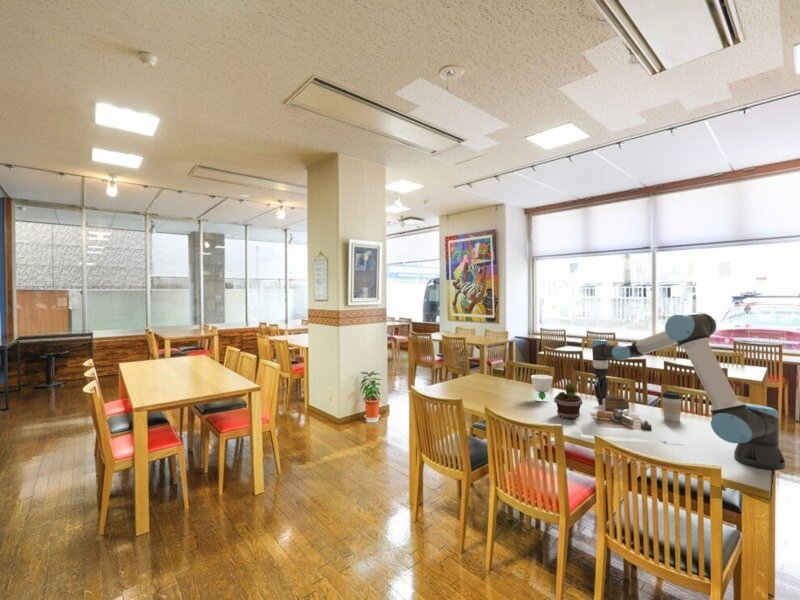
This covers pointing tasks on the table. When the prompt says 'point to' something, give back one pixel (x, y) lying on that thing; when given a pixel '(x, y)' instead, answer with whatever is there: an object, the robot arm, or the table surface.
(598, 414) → the grey cross-shaped piece
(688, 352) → the robot arm
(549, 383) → the cup
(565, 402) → the flowerpot
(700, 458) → the table surface
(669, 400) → the coffee cup
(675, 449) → the table surface
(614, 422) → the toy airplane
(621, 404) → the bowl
